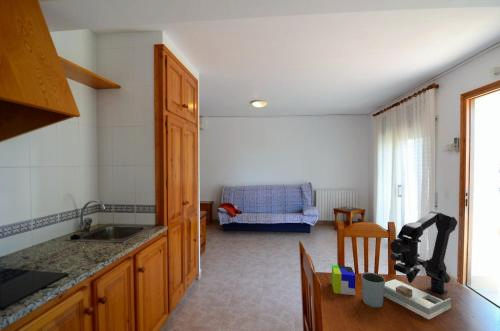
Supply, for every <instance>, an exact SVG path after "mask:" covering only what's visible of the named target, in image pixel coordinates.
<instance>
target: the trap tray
mask: <svg viewBox="0 0 500 331" xmlns="http://www.w3.org/2000/svg"><path fill="white" fill-rule="evenodd" d="M401 285H403V286H405V287H407V288H409V289H411V290H412V297H410V298H407V297H405V296H403V295H401V294H399V293H397V292H396V287H398V286H401ZM383 297H385V298H386V299H389V300H391V301H393V302H394V303H396V304H399V305H401V306H402V307H404V308H406V309H408V310H410V311H412V312H414V313H415V314H417V315H420V316H422V318H424V319H427V320H431V319H433V318H435V317H437V316H439V315H441V314H443V313H444V312H446V311H448V310H450V309H452V298H451V297H449V298H445V300H443V299H441V298H438V297H436V296H434V295H431V294H430V293H427V292H425V291H422V290H420V289H418V288H416V287H414V286H411V285H410V284H407V283H405V282H403V281H400V280H398V279H391V280H388V281H385V286H384V296H383Z"/></svg>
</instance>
